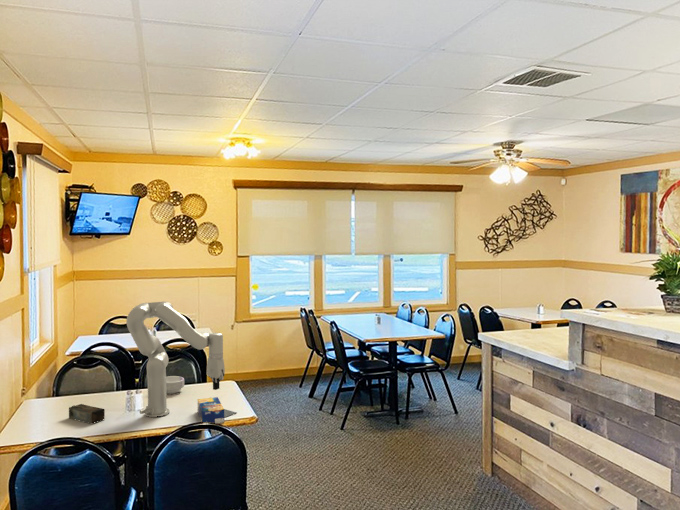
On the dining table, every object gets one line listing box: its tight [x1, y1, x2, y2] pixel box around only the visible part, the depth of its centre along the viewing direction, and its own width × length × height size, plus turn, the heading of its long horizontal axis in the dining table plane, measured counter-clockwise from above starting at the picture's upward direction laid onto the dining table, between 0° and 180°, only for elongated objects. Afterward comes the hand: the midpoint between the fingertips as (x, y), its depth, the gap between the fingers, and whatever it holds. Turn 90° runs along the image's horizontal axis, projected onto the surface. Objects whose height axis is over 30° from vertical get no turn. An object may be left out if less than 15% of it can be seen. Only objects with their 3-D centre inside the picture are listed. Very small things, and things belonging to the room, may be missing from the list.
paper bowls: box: [166, 375, 185, 395], centre depth 330 cm, size 15×15×8 cm
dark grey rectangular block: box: [68, 403, 106, 424], centre depth 281 cm, size 8×19×7 cm, turn 61°
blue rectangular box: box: [197, 396, 225, 424], centre depth 285 cm, size 7×11×22 cm
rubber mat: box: [224, 408, 237, 419], centre depth 289 cm, size 12×12×1 cm
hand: (216, 389), depth 294 cm, fingers closed
